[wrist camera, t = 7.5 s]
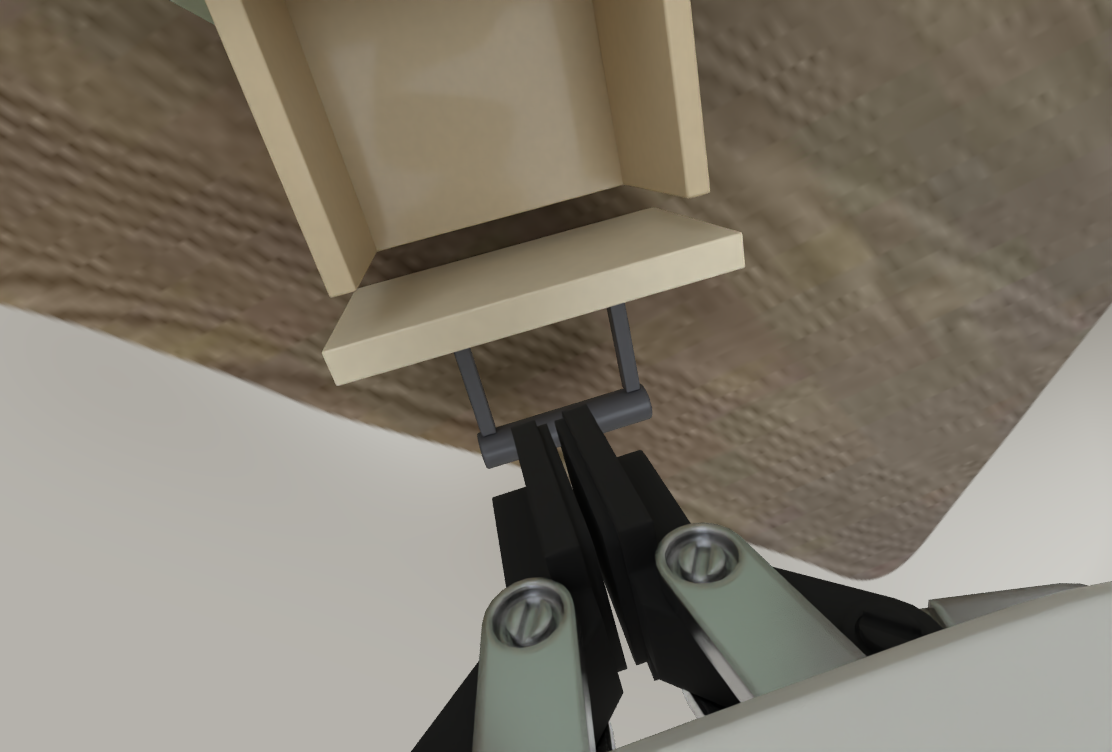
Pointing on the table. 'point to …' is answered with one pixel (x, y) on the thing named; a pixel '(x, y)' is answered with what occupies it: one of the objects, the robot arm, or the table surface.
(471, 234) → the table surface
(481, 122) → the drawer
